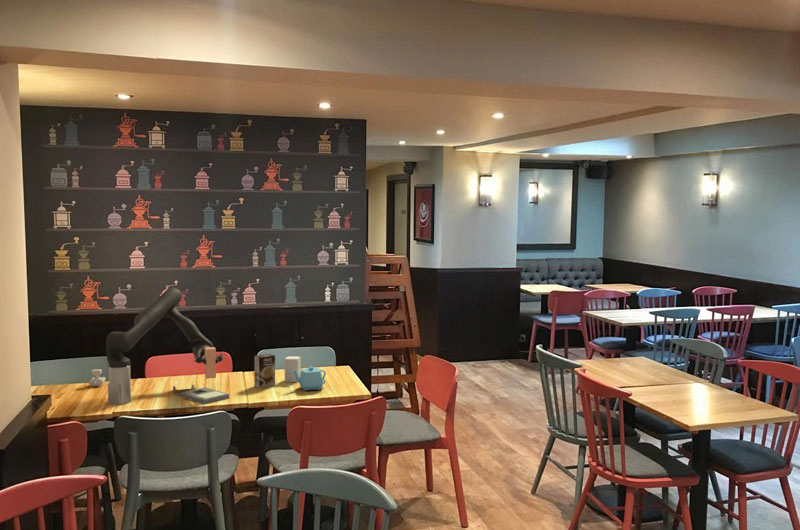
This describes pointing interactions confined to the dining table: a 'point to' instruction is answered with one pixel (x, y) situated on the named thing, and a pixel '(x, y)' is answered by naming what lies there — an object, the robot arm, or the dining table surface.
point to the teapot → (310, 378)
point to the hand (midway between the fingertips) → (211, 361)
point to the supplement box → (292, 368)
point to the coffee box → (264, 371)
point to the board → (204, 395)
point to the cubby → (182, 390)
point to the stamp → (97, 378)
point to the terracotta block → (210, 362)
